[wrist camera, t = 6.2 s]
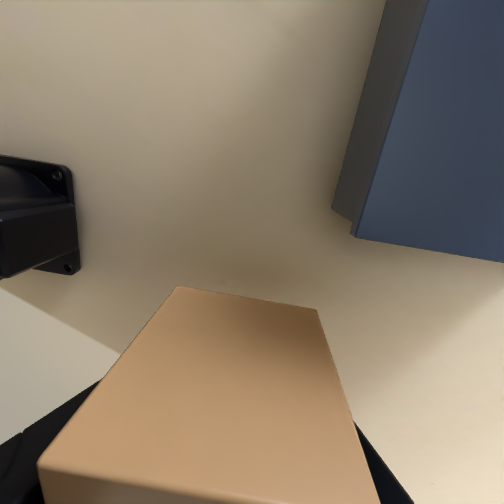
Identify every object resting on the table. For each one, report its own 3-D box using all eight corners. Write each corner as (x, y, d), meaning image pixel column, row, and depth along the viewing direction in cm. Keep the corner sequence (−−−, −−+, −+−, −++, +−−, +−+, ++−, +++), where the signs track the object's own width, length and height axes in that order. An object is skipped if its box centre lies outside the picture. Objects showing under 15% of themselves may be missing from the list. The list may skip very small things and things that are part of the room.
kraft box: (170, 389, 9) (68, 616, 5) (176, 284, 8) (31, 462, 3) (288, 410, 9) (307, 664, 4) (317, 308, 8) (392, 530, 3)
